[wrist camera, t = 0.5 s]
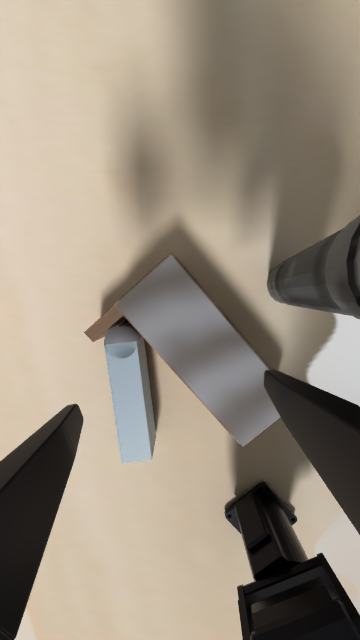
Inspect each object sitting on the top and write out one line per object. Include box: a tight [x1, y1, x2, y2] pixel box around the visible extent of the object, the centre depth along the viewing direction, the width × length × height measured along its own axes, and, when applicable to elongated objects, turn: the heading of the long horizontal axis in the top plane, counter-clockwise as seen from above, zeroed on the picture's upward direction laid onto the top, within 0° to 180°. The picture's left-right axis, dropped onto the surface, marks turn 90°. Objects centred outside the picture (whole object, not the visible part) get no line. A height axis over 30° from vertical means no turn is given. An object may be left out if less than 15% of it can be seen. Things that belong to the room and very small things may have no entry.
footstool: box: [84, 252, 280, 447], centre depth 19 cm, size 18×11×5 cm, turn 41°
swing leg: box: [104, 323, 156, 463], centre depth 20 cm, size 14×3×4 cm, turn 6°
